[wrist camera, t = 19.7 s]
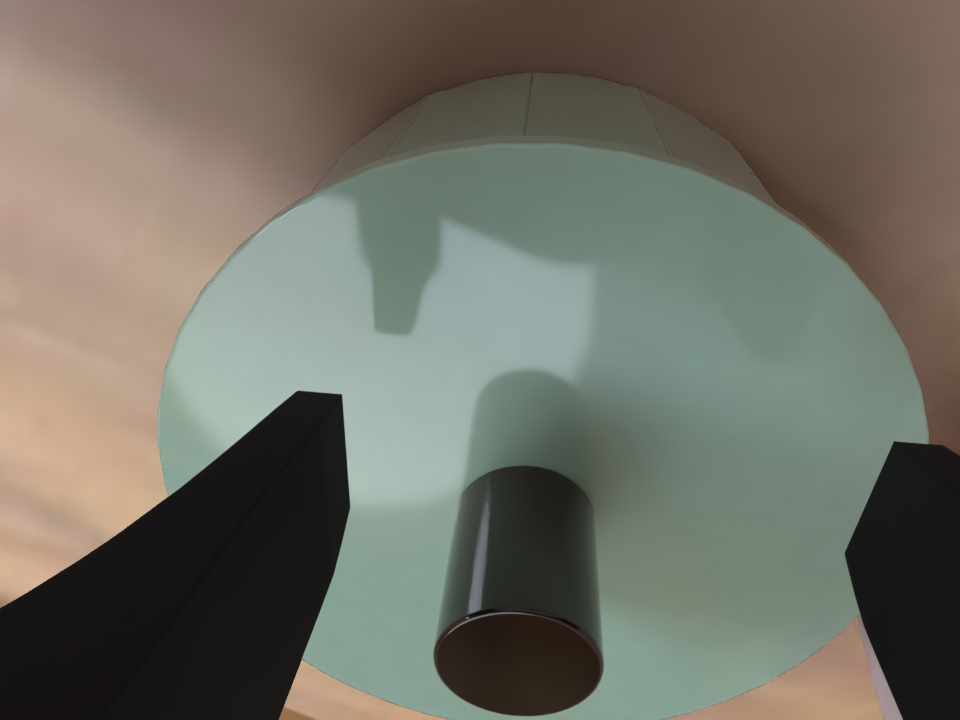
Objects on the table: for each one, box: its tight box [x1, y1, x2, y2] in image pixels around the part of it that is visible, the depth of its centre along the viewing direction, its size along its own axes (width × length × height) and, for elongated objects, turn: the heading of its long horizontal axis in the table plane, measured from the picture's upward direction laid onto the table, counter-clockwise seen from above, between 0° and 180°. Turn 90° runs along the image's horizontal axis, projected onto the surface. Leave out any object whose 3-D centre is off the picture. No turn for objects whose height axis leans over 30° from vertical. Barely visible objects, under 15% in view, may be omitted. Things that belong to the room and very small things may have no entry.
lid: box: [158, 136, 929, 720], centre depth 13 cm, size 14×14×4 cm
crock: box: [312, 72, 776, 204], centre depth 17 cm, size 13×13×6 cm
